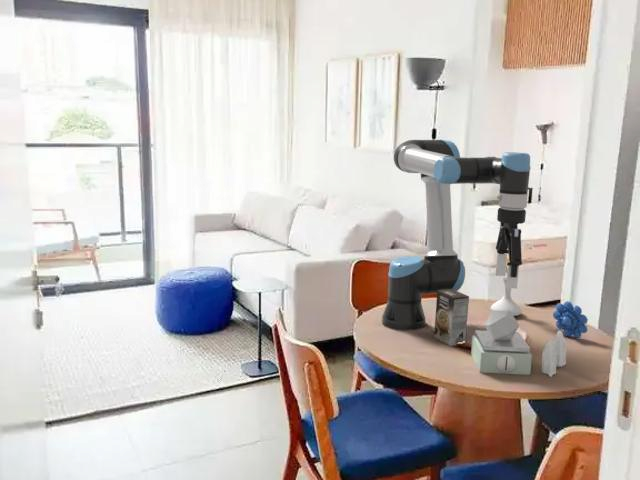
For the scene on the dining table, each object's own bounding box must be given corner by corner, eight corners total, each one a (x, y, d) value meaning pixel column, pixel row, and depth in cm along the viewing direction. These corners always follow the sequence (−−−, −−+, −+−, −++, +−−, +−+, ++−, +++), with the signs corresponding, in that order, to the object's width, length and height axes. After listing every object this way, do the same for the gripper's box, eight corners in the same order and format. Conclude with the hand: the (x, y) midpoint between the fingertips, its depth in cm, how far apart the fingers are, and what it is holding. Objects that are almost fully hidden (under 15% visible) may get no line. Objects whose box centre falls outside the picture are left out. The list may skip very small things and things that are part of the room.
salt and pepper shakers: (554, 361, 178) (558, 326, 175) (568, 365, 175) (572, 329, 173) (537, 372, 169) (541, 335, 167) (552, 377, 166) (555, 339, 164)
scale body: (471, 353, 182) (472, 333, 181) (517, 355, 181) (519, 335, 180) (480, 373, 168) (481, 351, 166) (530, 375, 167) (532, 353, 165)
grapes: (545, 335, 200) (549, 300, 198) (554, 330, 205) (557, 297, 202) (580, 344, 192) (584, 308, 190) (588, 339, 197) (592, 304, 194)
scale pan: (474, 334, 180) (474, 330, 180) (518, 335, 179) (518, 332, 179) (482, 349, 168) (483, 345, 167) (529, 352, 167) (530, 348, 166)
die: (511, 348, 167) (528, 318, 169) (484, 331, 168) (501, 301, 170) (501, 348, 176) (517, 319, 177) (475, 332, 176) (492, 303, 178)
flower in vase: (488, 308, 228) (492, 245, 223) (518, 310, 226) (524, 246, 222) (493, 319, 215) (498, 252, 210) (525, 321, 214) (531, 253, 209)
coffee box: (433, 337, 196) (436, 289, 193) (449, 334, 198) (452, 288, 195) (449, 346, 188) (452, 297, 185) (466, 344, 190) (469, 295, 187)
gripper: (489, 201, 178) (483, 270, 182) (508, 214, 154) (502, 293, 158) (514, 202, 178) (508, 271, 182) (538, 215, 153) (531, 294, 158)
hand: (505, 281), depth 170 cm, fingers open, 13 cm apart
